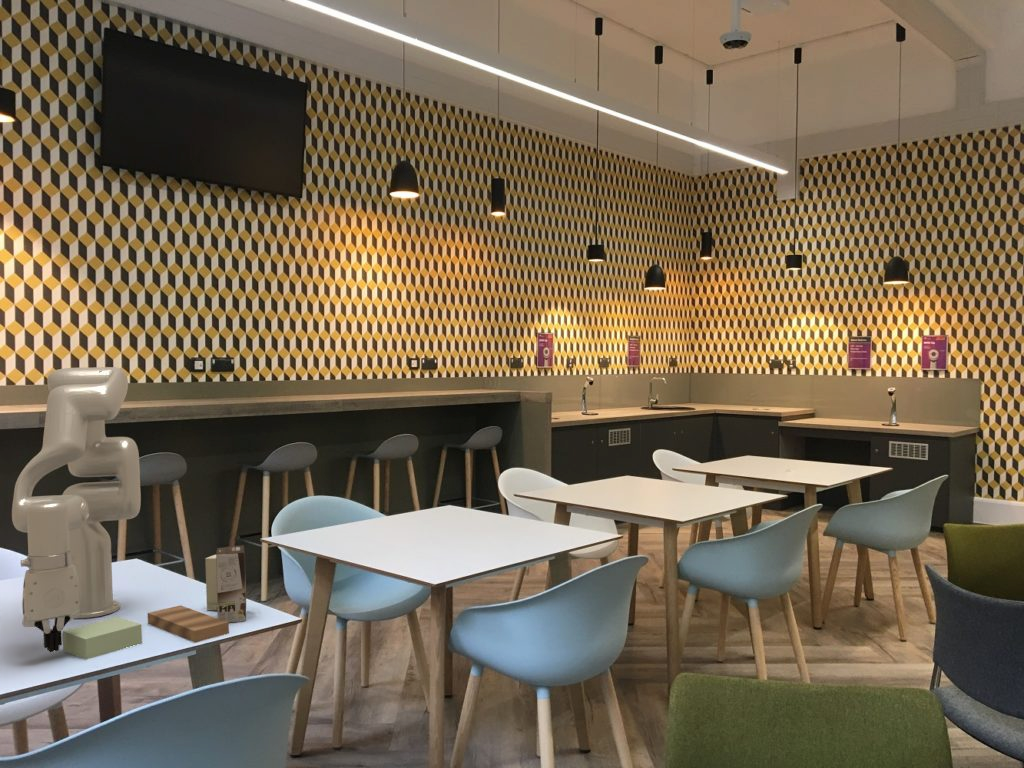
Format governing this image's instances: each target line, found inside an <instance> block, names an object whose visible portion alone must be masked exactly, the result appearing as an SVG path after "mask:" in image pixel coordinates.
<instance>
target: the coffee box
mask: <svg viewBox="0 0 1024 768" xmlns="http://www.w3.org/2000/svg"><path fill="white" fill-rule="evenodd" d="M215 555H216V570H217V601H218V610H217V618H218V619H221V620H224V621H227V622H229V623H239V622H240V623H241V622H246V620H247V582H246V581H247V579H246V577H247V576H246V575H247V574H246V553H245V545H235V546H234V545H231V546H225V547H217V548H216V554H215Z"/></svg>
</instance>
